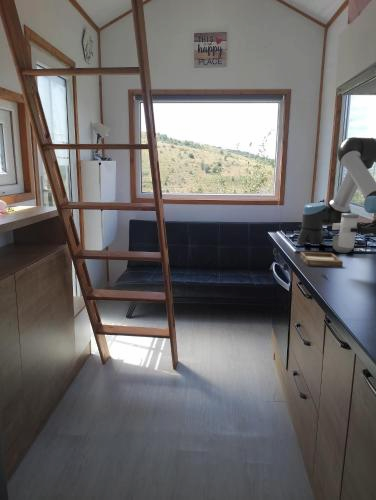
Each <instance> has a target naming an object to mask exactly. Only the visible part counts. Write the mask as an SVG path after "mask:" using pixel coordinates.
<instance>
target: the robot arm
mask: <svg viewBox="0 0 376 500" xmlns="http://www.w3.org/2000/svg"><path fill="white" fill-rule="evenodd" d="M338 146H339V147H337V148H338V149H337V158H338V161H339V163H340V164H341V166H343V167H344V168H345V169H346V170H347V171H346V174H345V175H344V177H343V180H342V182H341V184H340V186H339V189H338V191H337V192H336V195H335V196H334V198H333V199H331V200H330V201H329V203H328V205H326V204H325V203H324V202H311V203H307V204H305V205H304V206H303V210H302V221H301V229H300V231H299V234H298V237H297V240H296V243H297V244H298V245H302V246H305V245H304V244H306V243H311V244H321V243H323V244H324V245H325V239H324V233H323V228H324V227H332V228H331V230H333V231H335V230H336V231H340V225H341V217H342V216H341V214H342V213H352V210H351V206H350V204H351V202H352V200H353V199H354V196H355V194H356V192H357V190H359V192H360V193H361V195H362V196H363V198H364V201H363V207H364V210H365V212H366V213H368V214H374V215H375V214H376V180H375V179H374V177H373V175H372V174H371V172H370V171H369V169H372V168H373V166H374V164H375V163H376V137H375V138H374V137H357V136H353V137H348V138H346V139H345V140H343V141H342V142H341V143H340V145H338ZM342 233H356V234H362V235H369V234H370V235H373V236H375V237H376V219H374V220H372V222H368V221H367V222H363V221H359V222H358V221H357V226H347V227H343V230H342Z"/></svg>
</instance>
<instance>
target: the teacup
mask: <svg viewBox="0 0 376 500" xmlns="http://www.w3.org/2000/svg"><path fill="white" fill-rule="evenodd" d="M338 240H339V234H338V235H334V236H332V248H333V250H334V251H335V252H337V253H340V254H346V253H347V254H349V253H351V251H352V250H353V249H354V247H353V248H345V247H340V246H338Z"/></svg>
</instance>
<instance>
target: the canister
mask: <svg viewBox="0 0 376 500" xmlns="http://www.w3.org/2000/svg"><path fill="white" fill-rule="evenodd" d="M341 216H342V217H341V225H340V230H339V233H338V235H339V240H338V246H340V247H345V248H353V249H354V248H355V241H356V234H357V233H342V230H343V227H347V226H357V222H358V220H359V214H356V213H352V212H351V213H342V214H341Z"/></svg>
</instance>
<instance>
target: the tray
mask: <svg viewBox="0 0 376 500" xmlns="http://www.w3.org/2000/svg"><path fill="white" fill-rule="evenodd" d="M299 252H300V253H299V257H300V258H301V260H302V261H303V262H304V264H305V265H306V266H311V267H313V266H315V267H331V268H332V267H335V268H343V264H344V263H343V260H341V258H339V257H338V256H336V255H335V254H334V253H332V252H312V251H309V252H308V251H299Z"/></svg>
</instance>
